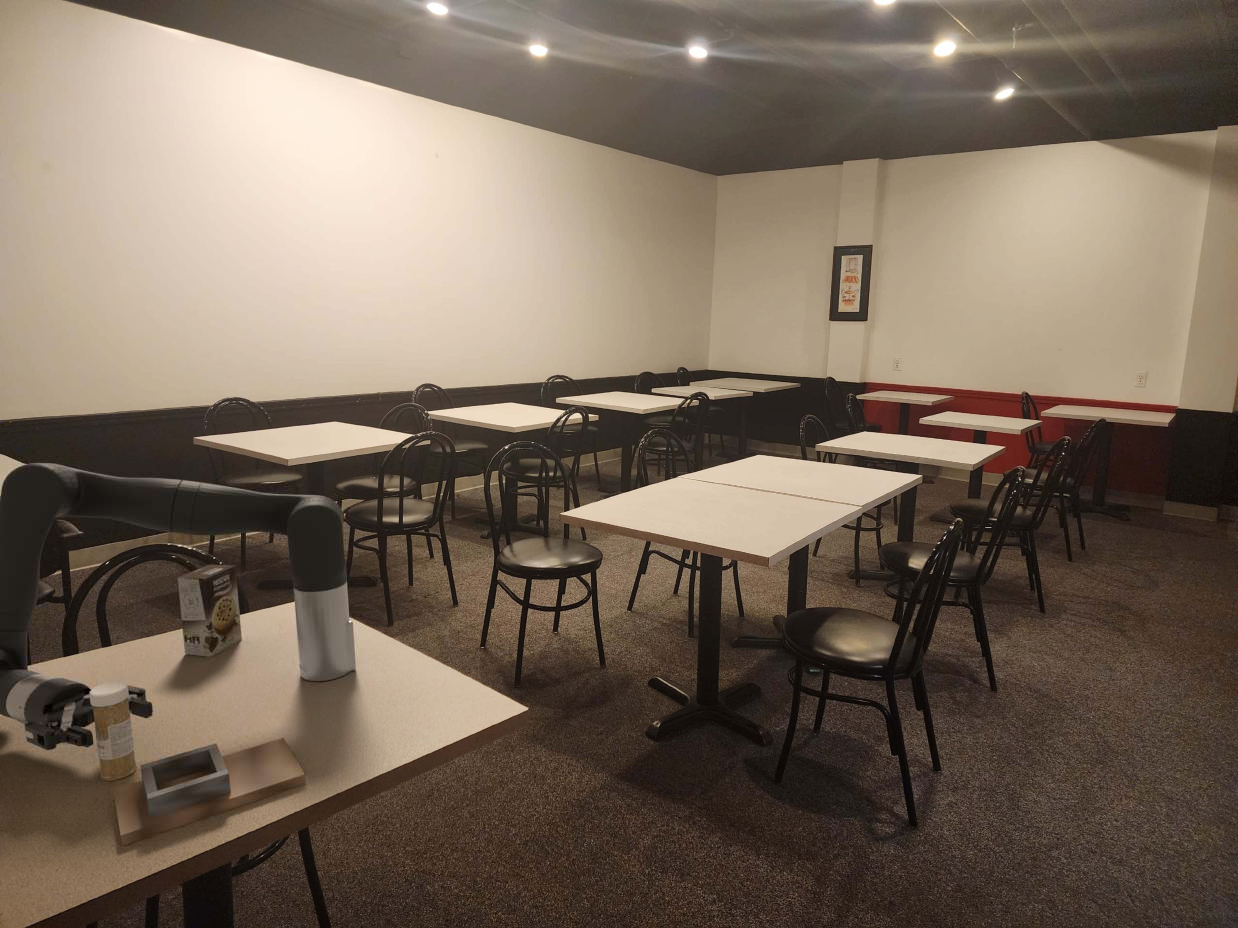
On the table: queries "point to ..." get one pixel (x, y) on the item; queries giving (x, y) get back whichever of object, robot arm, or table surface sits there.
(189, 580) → the cookie box
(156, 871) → the table surface
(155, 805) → the board
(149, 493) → the robot arm
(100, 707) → the sprinkles bottle
